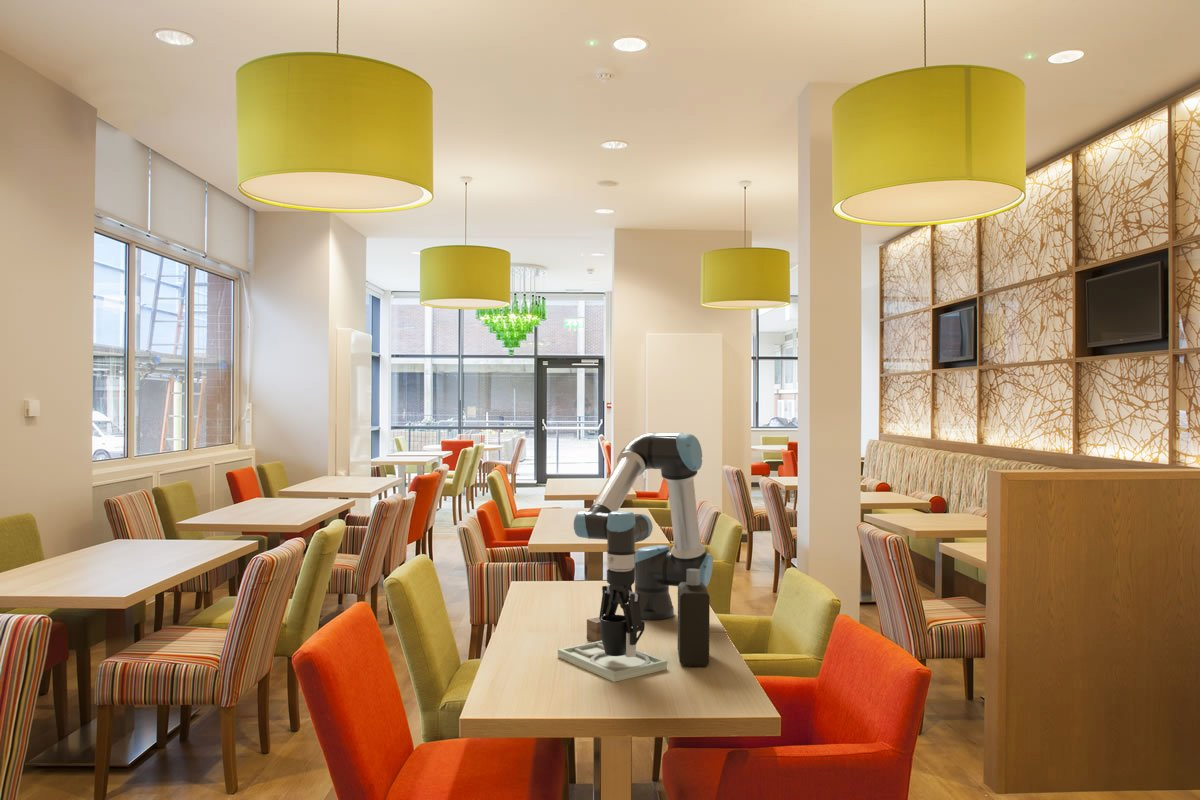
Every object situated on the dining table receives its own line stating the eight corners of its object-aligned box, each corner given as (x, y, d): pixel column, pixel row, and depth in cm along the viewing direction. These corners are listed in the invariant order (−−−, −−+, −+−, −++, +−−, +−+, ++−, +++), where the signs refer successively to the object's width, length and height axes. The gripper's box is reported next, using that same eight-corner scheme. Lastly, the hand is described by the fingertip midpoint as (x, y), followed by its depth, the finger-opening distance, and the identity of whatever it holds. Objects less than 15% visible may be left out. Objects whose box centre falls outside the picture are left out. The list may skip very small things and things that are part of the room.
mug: (643, 658, 218) (643, 622, 219) (598, 657, 220) (598, 621, 220) (645, 649, 227) (645, 615, 227) (601, 648, 228) (601, 613, 228)
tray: (608, 646, 243) (608, 639, 243) (666, 669, 222) (667, 661, 222) (557, 657, 232) (557, 649, 232) (614, 682, 211) (614, 673, 211)
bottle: (680, 667, 224) (680, 575, 224) (677, 650, 240) (677, 564, 240) (709, 668, 223) (710, 575, 223) (704, 650, 239) (705, 564, 239)
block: (599, 636, 254) (600, 617, 254) (609, 640, 250) (609, 620, 250) (586, 639, 251) (586, 619, 251) (596, 642, 247) (596, 622, 247)
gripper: (586, 564, 230) (586, 645, 230) (634, 576, 213) (634, 664, 213) (608, 561, 235) (607, 640, 235) (656, 573, 218) (656, 659, 217)
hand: (620, 652), depth 224 cm, fingers closed on mug, 9 cm apart
